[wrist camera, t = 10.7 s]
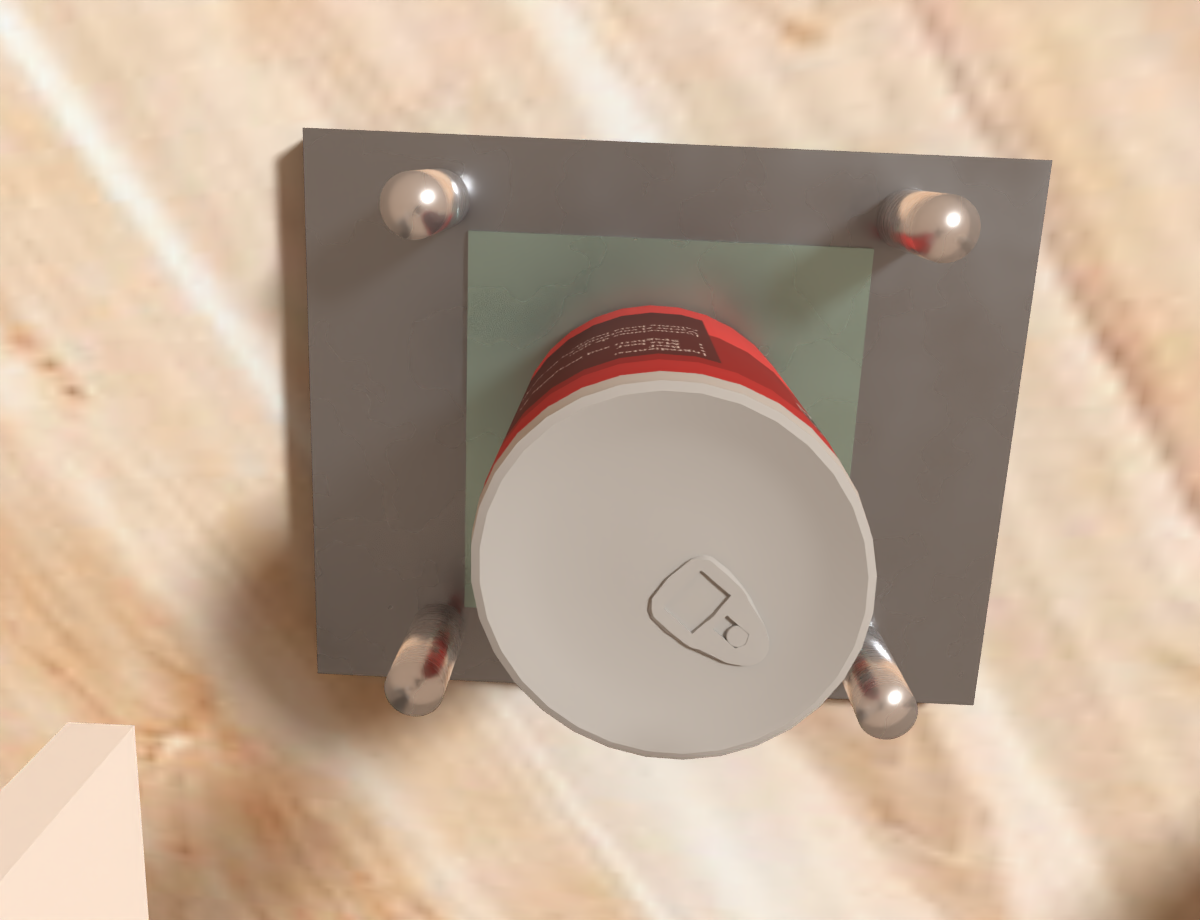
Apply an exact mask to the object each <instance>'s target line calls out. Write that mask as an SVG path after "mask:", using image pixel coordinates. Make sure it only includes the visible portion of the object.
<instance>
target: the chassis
mask: <svg viewBox="0 0 1200 920" xmlns="http://www.w3.org/2000/svg"><path fill="white" fill-rule="evenodd" d="M303 155H304V192H305V228H306V264H307V300H308V337H309V373H310V409H311V446H312V482H313V518H314V555H315V591H316V627H317V663H318V673H323V674H343V675H364V676H384V677H386V680H385V685H384V689H385V695H386V698H387V700H388V701H389V703H390V704H391V705H392V706H393V707H394V708H395V709H396V710H397V711H399V712H401V713H403V714H405V715H409V716H423V715H426V714H429V713H431V712H432V711H434V710H435V709H436V708H437V707H438V706H439V705H440V703H441V702H442V699H443V696H444V694H445V691H446V688H447V685H448V682H449V680H466V681H487V682H507V683H515V682H514V681H513V679H512V678H511V676H510V675H509V673H508V672H507V671H506V669H505V668H504V666H503V665H502V663H501V662H500V660H499V659H498V658H497V656H496V655H495V653H494V651H493V649H492V647H491V645H490V642H489V640H488V638H487V635H486V633H485V631H484V628H483V626H482V624H481V622H480V619H479V616H478V611H477V607H476V602H475V597H474V593H473V588H472V583H471V542H472V530H473V525H474V521H475V516H476V511H477V507H478V502H479V498H480V495H481V493H482V491H483V488H484V484H485V481H486V478H487V476H488V474H489V472H490V470H491V467H492V465H493V463H494V461H495V458H496V456H497V454H498V452H499V450H500V447H501V445H502V443H503V441H504V438H505V436H506V434H507V432H508V430H509V427H510V425H511V423H512V421H513V418H514V416H515V414H516V412H517V410H518V407H519V405H520V403H521V401H522V398H523V396H524V394H525V392H526V390H527V387H528V385H529V383H530V381H531V378H532V376H533V374H534V372H535V370H536V369H537V367H538V366H539V365H540V363H541V362H542V361H543V359H544V358H545V357H546V355H547V354H548V352H549V351H550V350H551V349H552V348H553V347H554V346H555V345H556V344H557V343H558V342H560V341H561V340H562V339H563V338H564V337H565V336H566V335H567V334H569V333H570V332H571V331H572V330H574V329H576V328H578V327H579V326H581V325H583V324H585V323H586V322H588V321H590V320H592V319H593V318H595V317H598V316H601V315H604V314H607V313H610V312H613V311H616V310H619V309H623V308H631V307H640V306H648V305H653V306H666V307H679V308H682V309H686V310H690V311H693V312H697V313H700V314H704V315H707V316H709V317H711V318H713V319H715V320H717V321H719V322H721V323H723V324H725V325H727V326H729V327H731V328H733V329H734V330H735V331H737V332H738V333H739V334H741V335H742V336H743V337H744V338H746V339H747V340H748V341H750V342H751V343H752V344H754V345H755V346H756V347H757V349H758V350H759V351H760V352H761V353H762V354H763V355H764V357H765V358H766V359H767V360H768V361H769V362H770V363H771V364H772V366H773V367H774V368H775V370H776V371H777V372H778V374H779V375H780V376H781V378H782V379H783V380H784V382H785V383H786V385H787V386H788V387H789V389H790V390H791V391H792V393H793V394H794V396H795V397H796V398H797V400H798V401H799V402H800V404H801V405H802V407H803V408H804V409H805V411H806V412H807V413H808V415H809V416H810V418H811V419H812V420H813V422H814V423H815V424H816V426H817V427H818V429H819V430H820V431H821V433H822V434H823V435H824V437H825V438H826V440H827V441H828V442H829V444H830V446H831V447H832V449H833V451H834V452H835V454H836V456H837V457H838V459H839V460H840V462H841V464H842V466H843V467H844V469H845V471H846V472H847V474H848V476H849V478H850V479H851V481H852V483H853V485H854V486H855V488H856V490H857V491H858V494H859V497H860V500H861V503H862V506H863V509H864V512H865V515H866V518H867V521H868V524H869V527H870V532H871V535H872V538H873V545H874V554H875V563H876V572H877V580H876V590H875V600H874V610H873V615H872V618H871V621H870V624H869V628H868V631H867V634H866V637H865V640H864V643H863V646H862V649H861V650H860V652H859V654H858V656H857V657H856V659H855V661H854V663H853V664H852V666H851V668H850V670H849V671H848V673H847V675H846V677H845V678H844V680H843V681H842V682H841V683H840V684H839V686H838V687H837V688H836V689H835V690H834V691H833V692H832V693H831V695H830V696H829V697H828V698H835V699H849V700H850V702H851V705H852V707H853V709H854V712H855V714H856V717H857V719H858V722H859V724H860V726H861V727H862V729H863V730H864V731H865V732H866V733H867V734H869V735H871V736H873V737H875V738H879V739H893V738H897V737H899V736H901V735H903V734H905V733H906V732H908V731H909V730H910V729H911V728H912V726H913V725H914V723H915V721H916V719H917V715H918V707H917V703H938V704H958V705H974V698H975V691H976V684H977V677H978V670H979V663H980V656H981V649H982V642H983V635H984V629H985V622H986V615H987V608H988V601H989V594H990V587H991V580H992V573H993V566H994V559H995V553H996V546H997V539H998V532H999V525H1000V518H1001V511H1002V504H1003V497H1004V490H1005V483H1006V477H1007V470H1008V463H1009V456H1010V449H1011V442H1012V435H1013V428H1014V421H1015V414H1016V407H1017V401H1018V394H1019V387H1020V380H1021V373H1022V366H1023V359H1024V352H1025V345H1026V338H1027V331H1028V325H1029V318H1030V311H1031V304H1032V297H1033V290H1034V283H1035V276H1036V269H1037V262H1038V255H1039V249H1040V242H1041V235H1042V228H1043V221H1044V214H1045V207H1046V200H1047V193H1048V186H1049V179H1050V173H1051V166H1052V160H1031V159H1008V158H985V157H962V156H939V155H916V154H893V153H870V152H847V151H824V150H801V149H778V148H755V147H733V146H710V145H687V144H664V143H641V142H618V141H595V140H572V139H549V138H526V137H503V136H480V135H457V134H434V133H411V132H388V131H365V130H342V129H319V128H303ZM916 702H917V703H916Z"/></svg>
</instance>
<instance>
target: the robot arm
mask: <svg viewBox="0 0 1200 920" xmlns="http://www.w3.org/2000/svg"><path fill="white" fill-rule="evenodd" d="M0 920H149V916H148V902H147V889H146V875H145V862H144V848H143V835H142V822H141V808H140V795H139V781H138V768H137V754H136V741H135V728H134V725H116V724H95V723H74V722H67V723H66V724H65V725H64V726H63V727H62V728H61V729H60V730H59V731H58V732H57V733H56V734H55V736H54V737H53V738H52V739H51V740H50V741H49V742H48V743H47V744H46V745H45V746H44V747H43V748H42V749H41V750H40V751H39V752H38V753H37V754H36V755H35V756H34V757H33V758H32V759H31V760H30V761H29V762H28V763H27V764H26V765H25V766H24V767H23V768H22V769H21V770H20V771H19V772H18V773H17V774H16V775H15V776H14V777H13V778H12V779H11V780H10V781H9V782H8V783H7V784H6V785H5V786H4V787H3V788H2V789H1V790H0Z"/></svg>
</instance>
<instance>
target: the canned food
mask: <svg viewBox="0 0 1200 920" xmlns="http://www.w3.org/2000/svg"><path fill="white" fill-rule="evenodd" d="M876 580H877V572H876V563H875V554H874V545H873V538H872V535H871V532H870V527H869V524H868V521H867V518H866V515H865V512H864V509H863V506H862V503H861V500H860V497H859V494H858V491H857V490H856V488H855V486H854V485H853V483H852V481H851V479H850V478H849V476H848V474H847V472H846V471H845V469H844V467H843V466H842V464H841V462H840V460H839V459H838V457H837V456H836V454H835V452H834V451H833V449H832V447H831V446H830V444H829V442H828V441H827V440H826V438H825V437H824V435H823V434H822V433H821V431H820V430H819V429H818V427H817V426H816V424H815V423H814V422H813V420H812V419H811V418H810V416H809V415H808V413H807V412H806V411H805V409H804V408H803V407H802V405H801V404H800V402H799V401H798V400H797V398H796V397H795V396H794V394H793V393H792V391H791V390H790V389H789V387H788V386H787V385H786V383H785V382H784V380H783V379H782V378H781V376H780V375H779V374H778V372H777V371H776V370H775V368H774V367H773V366H772V364H771V363H770V362H769V361H768V360H767V359H766V358H765V357H764V355H763V354H762V353H761V352H760V351H759V350H758V349H757V347H756V346H755V345H754V344H752V343H751V342H750V341H748V340H747V339H746V338H744V337H743V336H742V335H741V334H739V333H738V332H737V331H735V330H734V329H733V328H731V327H729V326H727V325H725V324H723V323H721V322H719V321H717V320H715V319H713V318H711V317H709V316H707V315H704V314H700V313H697V312H693V311H690V310H686V309H682V308H679V307H666V306H653V305H648V306H640V307H631V308H623V309H619V310H616V311H613V312H610V313H607V314H604V315H601V316H598V317H595V318H593V319H592V320H590V321H588V322H586V323H585V324H583V325H581V326H579V327H578V328H576V329H574V330H572V331H571V332H570V333H569V334H567V335H566V336H565V337H564V338H563V339H562V340H561V341H560V342H558V343H557V344H556V345H555V346H554V347H553V348H552V349H551V350H550V351H549V352H548V354H547V355H546V357H545V358H544V359H543V361H542V362H541V363H540V365H539V366H538V367H537V369H536V370H535V372H534V374H533V376H532V378H531V381H530V383H529V385H528V387H527V390H526V392H525V394H524V396H523V398H522V401H521V403H520V405H519V407H518V410H517V412H516V414H515V416H514V418H513V421H512V423H511V425H510V427H509V430H508V432H507V434H506V436H505V438H504V441H503V443H502V445H501V447H500V450H499V452H498V454H497V456H496V458H495V461H494V463H493V465H492V467H491V470H490V472H489V474H488V476H487V478H486V481H485V484H484V488H483V491H482V493H481V495H480V498H479V502H478V507H477V511H476V516H475V521H474V525H473V530H472V542H471V583H472V588H473V593H474V597H475V602H476V607H477V611H478V616H479V619H480V622H481V624H482V626H483V628H484V631H485V633H486V635H487V638H488V640H489V642H490V645H491V647H492V649H493V651H494V653H495V655H496V656H497V658H498V659H499V660H500V662H501V663H502V665H503V666H504V668H505V669H506V671H507V672H508V673H509V675H510V676H511V678H512V679H513V681H514V682H515V683H516V684H517V685H518V686H519V687H520V688H521V689H522V690H523V691H524V692H525V693H526V694H527V695H528V696H529V697H530V698H531V699H532V700H533V701H534V702H535V703H536V704H537V705H538V706H539V707H540V708H541V709H542V710H543V711H545V712H546V713H547V714H549V715H550V716H552V717H553V718H555V719H556V720H558V721H559V722H561V723H562V724H564V725H565V726H566V727H568V728H569V729H571V730H572V731H574V732H576V733H578V734H581V735H583V736H585V737H587V738H589V739H592V740H594V741H596V742H598V743H600V744H603V745H605V746H607V747H610V748H614V749H618V750H622V751H626V752H630V753H633V754H637V755H641V756H645V757H657V758H670V759H683V760H684V759H694V758H704V757H714V756H722V755H726V754H729V753H733V752H736V751H740V750H743V749H747V748H750V747H754V746H757V745H759V744H761V743H763V742H765V741H767V740H769V739H771V738H773V737H776V736H778V735H780V734H782V733H784V732H786V731H788V730H790V729H791V728H793V727H794V726H795V725H796V724H798V723H799V722H800V721H802V720H803V719H804V718H806V717H807V716H808V715H810V714H811V713H812V712H814V711H815V710H816V709H818V708H819V707H820V706H821V705H822V704H823V703H824V701H825V700H826V699H827V698H828V697H829V696H830V695H831V693H832V692H833V691H834V690H835V689H836V688H837V687H838V686H839V684H840V683H841V682H842V681H843V680H844V678H845V677H846V675H847V673H848V671H849V670H850V668H851V666H852V664H853V663H854V661H855V659H856V657H857V656H858V654H859V652H860V650H861V649H862V646H863V643H864V640H865V637H866V634H867V631H868V628H869V624H870V621H871V618H872V615H873V610H874V600H875V590H876Z"/></svg>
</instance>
